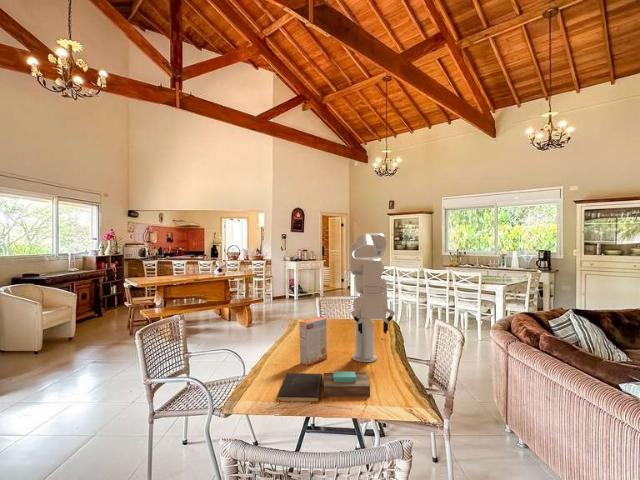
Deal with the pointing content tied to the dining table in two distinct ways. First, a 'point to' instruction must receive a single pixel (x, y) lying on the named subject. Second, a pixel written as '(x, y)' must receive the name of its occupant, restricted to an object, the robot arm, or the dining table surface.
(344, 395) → the brown flat block
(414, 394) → the dining table surface
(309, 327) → the cracker box
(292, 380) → the hardcover book
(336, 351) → the dining table surface
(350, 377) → the teal rectangular block
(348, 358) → the dining table surface
